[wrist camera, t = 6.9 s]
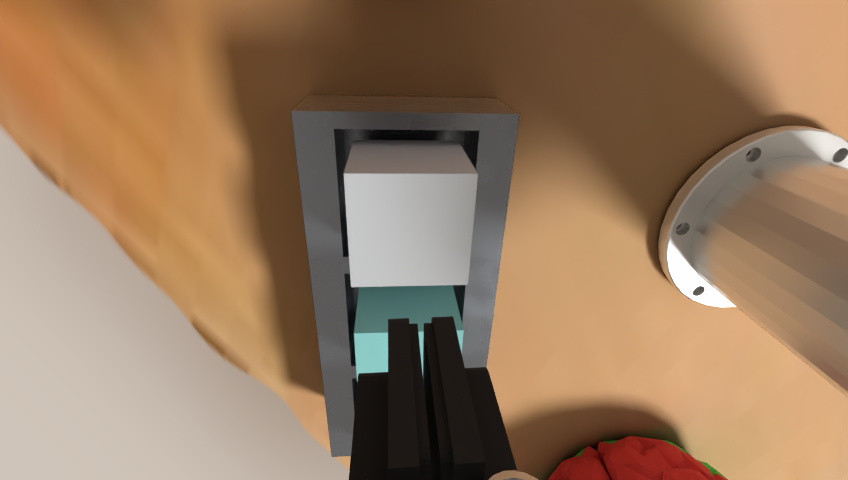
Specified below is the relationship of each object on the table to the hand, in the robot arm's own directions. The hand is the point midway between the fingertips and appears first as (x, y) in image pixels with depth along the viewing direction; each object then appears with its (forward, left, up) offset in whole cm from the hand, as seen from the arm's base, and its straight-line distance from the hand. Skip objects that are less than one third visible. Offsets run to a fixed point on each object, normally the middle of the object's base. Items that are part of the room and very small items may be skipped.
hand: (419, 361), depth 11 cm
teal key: (0, +7, -12) cm, 14 cm away
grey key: (0, 0, -12) cm, 12 cm away
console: (0, +7, -15) cm, 17 cm away
